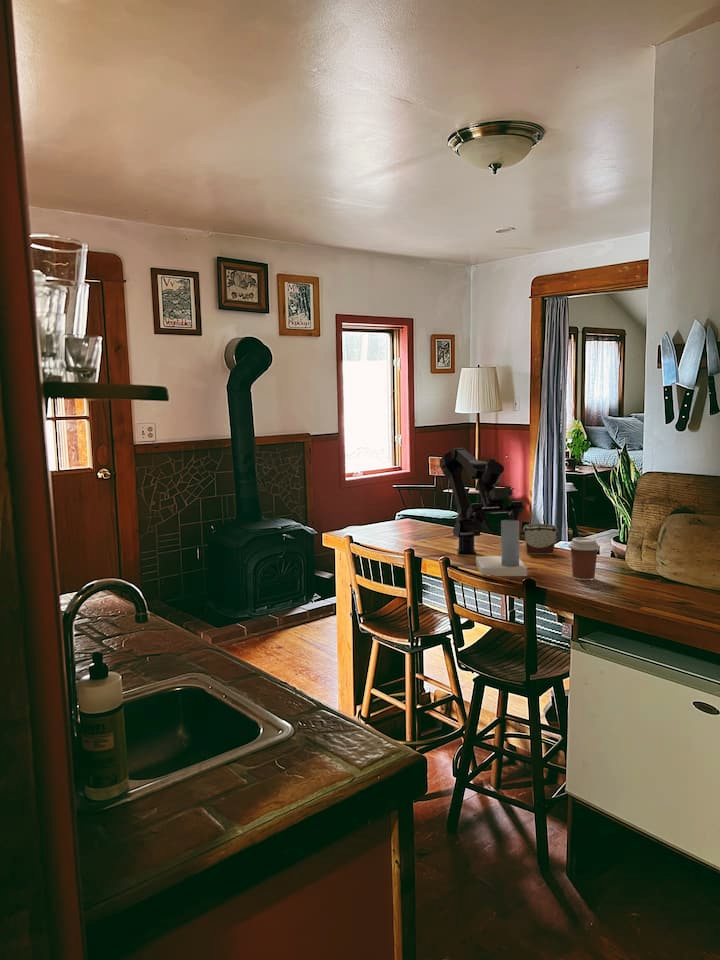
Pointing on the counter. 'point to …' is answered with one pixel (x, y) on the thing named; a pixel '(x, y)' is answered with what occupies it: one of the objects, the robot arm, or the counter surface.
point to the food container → (540, 538)
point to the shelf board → (499, 567)
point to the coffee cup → (583, 558)
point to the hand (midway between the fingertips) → (503, 531)
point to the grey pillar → (510, 543)
